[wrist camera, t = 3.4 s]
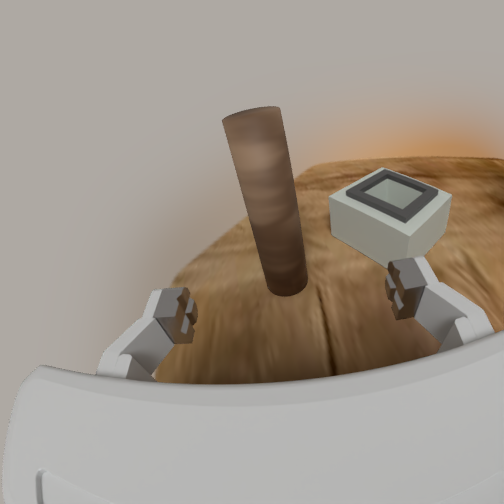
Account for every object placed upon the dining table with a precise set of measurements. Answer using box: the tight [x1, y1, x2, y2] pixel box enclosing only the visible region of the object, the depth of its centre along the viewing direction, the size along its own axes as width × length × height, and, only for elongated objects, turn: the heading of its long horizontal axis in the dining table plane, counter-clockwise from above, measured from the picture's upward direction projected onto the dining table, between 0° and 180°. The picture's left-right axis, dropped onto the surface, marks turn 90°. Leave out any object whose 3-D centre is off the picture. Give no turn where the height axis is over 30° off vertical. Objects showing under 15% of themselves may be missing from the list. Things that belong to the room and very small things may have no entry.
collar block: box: [329, 167, 452, 268], centre depth 27 cm, size 10×10×6 cm
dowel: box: [222, 106, 308, 296], centre depth 22 cm, size 4×4×16 cm
